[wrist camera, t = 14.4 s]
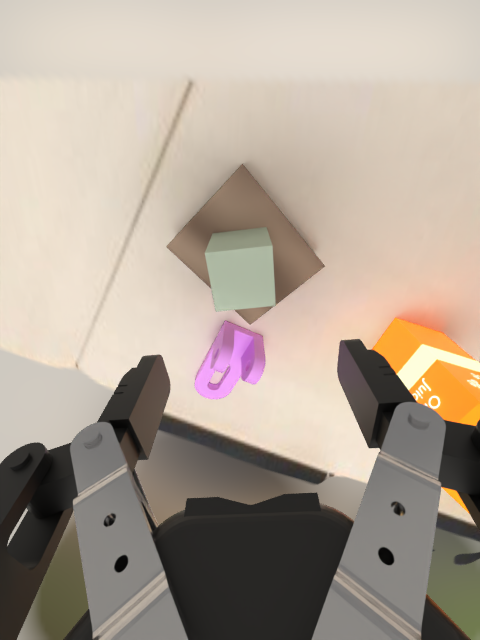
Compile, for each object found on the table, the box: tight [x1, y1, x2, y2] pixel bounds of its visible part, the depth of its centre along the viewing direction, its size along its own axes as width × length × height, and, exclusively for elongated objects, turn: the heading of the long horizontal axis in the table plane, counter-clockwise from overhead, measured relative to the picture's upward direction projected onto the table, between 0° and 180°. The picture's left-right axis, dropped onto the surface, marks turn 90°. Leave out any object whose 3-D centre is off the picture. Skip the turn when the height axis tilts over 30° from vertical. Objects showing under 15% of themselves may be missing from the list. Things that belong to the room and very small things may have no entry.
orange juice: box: [372, 318, 480, 514], centre depth 29 cm, size 8×9×20 cm
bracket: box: [195, 321, 265, 399], centre depth 36 cm, size 13×6×7 cm, turn 154°
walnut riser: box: [167, 164, 325, 325], centre depth 28 cm, size 10×12×5 cm
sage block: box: [205, 227, 276, 312], centre depth 23 cm, size 5×5×6 cm
